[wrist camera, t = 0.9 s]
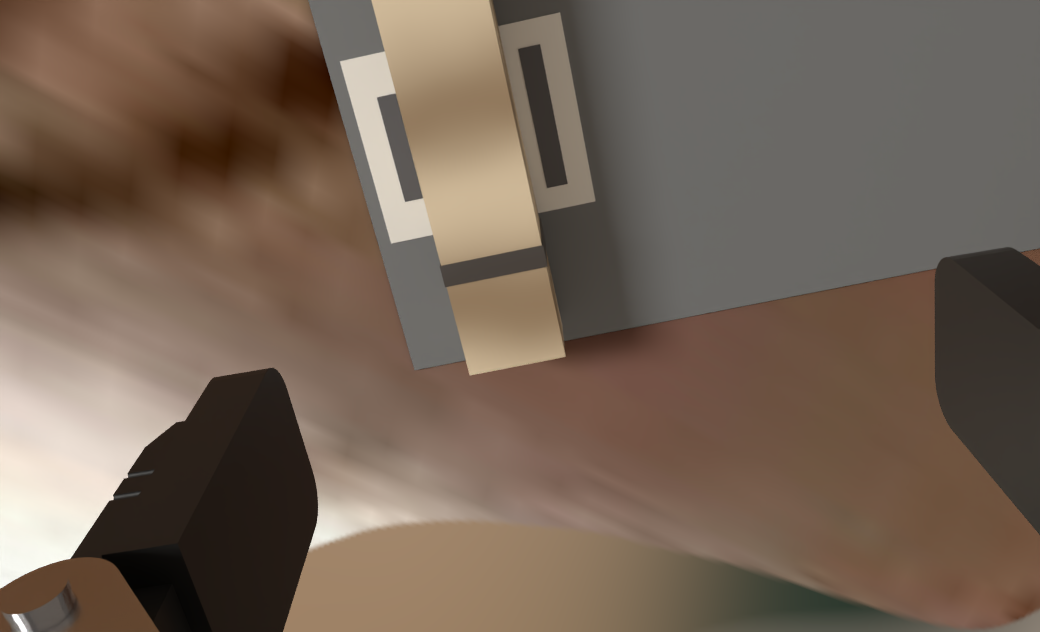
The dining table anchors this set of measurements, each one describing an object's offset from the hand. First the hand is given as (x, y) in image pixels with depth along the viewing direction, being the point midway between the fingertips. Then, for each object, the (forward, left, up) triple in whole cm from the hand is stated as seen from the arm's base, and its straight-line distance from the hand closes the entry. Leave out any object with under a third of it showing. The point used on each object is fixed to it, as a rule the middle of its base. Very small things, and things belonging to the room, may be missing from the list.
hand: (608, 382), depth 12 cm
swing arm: (-2, -3, -24) cm, 24 cm away
